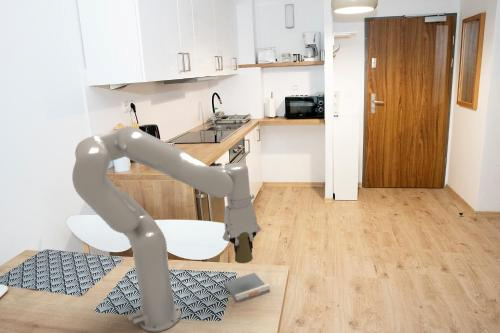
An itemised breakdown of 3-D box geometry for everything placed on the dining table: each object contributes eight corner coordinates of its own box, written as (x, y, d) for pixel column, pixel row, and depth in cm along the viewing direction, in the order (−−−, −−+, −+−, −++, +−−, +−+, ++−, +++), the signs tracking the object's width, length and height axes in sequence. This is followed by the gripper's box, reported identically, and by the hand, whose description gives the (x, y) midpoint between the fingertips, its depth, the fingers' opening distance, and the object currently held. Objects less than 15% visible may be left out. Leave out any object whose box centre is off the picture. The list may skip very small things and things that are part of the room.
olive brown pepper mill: (251, 263, 129) (249, 232, 126) (233, 263, 130) (230, 233, 127) (253, 253, 135) (250, 224, 132) (236, 254, 135) (233, 224, 132)
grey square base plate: (237, 303, 128) (236, 296, 128) (223, 284, 139) (223, 278, 138) (270, 292, 133) (269, 285, 132) (254, 275, 144) (254, 269, 143)
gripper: (257, 192, 133) (261, 241, 138) (210, 203, 127) (216, 254, 132) (267, 199, 127) (271, 250, 132) (219, 211, 120) (225, 264, 125)
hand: (243, 252), depth 132 cm, fingers closed on olive brown pepper mill, 3 cm apart
